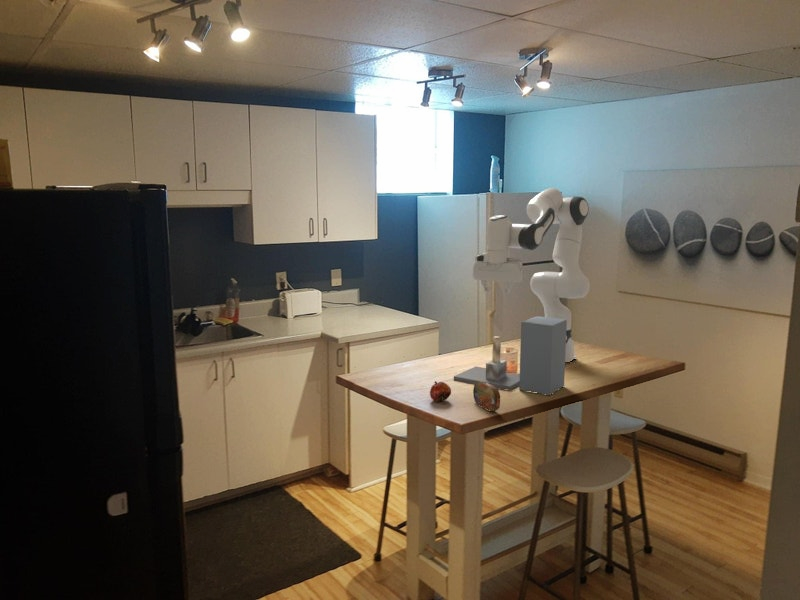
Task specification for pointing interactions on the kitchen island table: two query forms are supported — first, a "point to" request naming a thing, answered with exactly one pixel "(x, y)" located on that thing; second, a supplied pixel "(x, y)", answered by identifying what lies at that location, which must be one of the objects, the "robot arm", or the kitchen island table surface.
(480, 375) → the board
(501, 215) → the robot arm
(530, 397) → the kitchen island table surface
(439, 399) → the pomegranate
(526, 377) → the stand
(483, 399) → the tin
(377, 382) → the kitchen island table surface
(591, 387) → the kitchen island table surface
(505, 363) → the mallet
